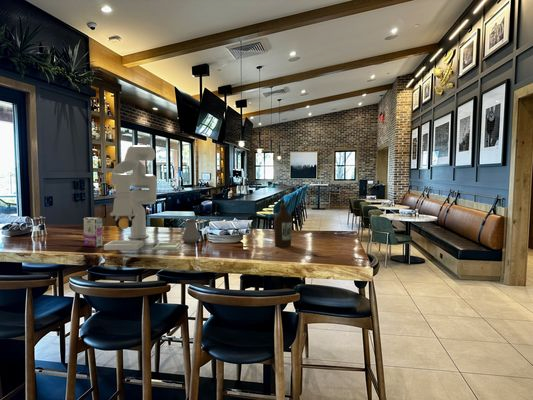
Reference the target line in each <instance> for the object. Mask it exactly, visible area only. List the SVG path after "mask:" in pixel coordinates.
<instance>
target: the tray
mask: <svg viewBox="0 0 533 400" xmlns="http://www.w3.org/2000/svg"><path fill="white" fill-rule="evenodd" d="M181 246H182V244H181V243H180V242H159V243H157V244H156V245H155V246H153V248H152V249H151V250H152V251H161V250H162V251H164V250H165V251H166V250H168V251H169V250H171V251H172V250H173V251H174V250H176V251H177V250H179V248H180V247H181Z"/></svg>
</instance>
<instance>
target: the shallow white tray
mask: <svg viewBox="0 0 533 400" xmlns="http://www.w3.org/2000/svg"><path fill="white" fill-rule="evenodd" d="M144 245H145V241H144V240H138V239H134V240H133V239H131V240H111V241H109V242H107V243H105V244H103V249H104V251H138V250H139V249H141V248H143V247H144Z"/></svg>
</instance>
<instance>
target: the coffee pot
mask: <svg viewBox="0 0 533 400" xmlns="http://www.w3.org/2000/svg"><path fill="white" fill-rule="evenodd" d="M198 218H199V214H198V215H196V216H195V218H194V220H186V221H185V223H186V226H185V228H184V231H183V233H182V236H181V239H182V240H183V242H184V243H186V244H187V243H189V244H191V243H192V244H194V243H197V241H200V239H201V234H200V232H199V230H198V227H197V225H196V224H197V219H198Z"/></svg>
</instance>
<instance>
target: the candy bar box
mask: <svg viewBox="0 0 533 400" xmlns="http://www.w3.org/2000/svg"><path fill="white" fill-rule="evenodd" d="M103 229H104V226H103V218H101V217H92V216H91V217H84V218H83V242H84V243H83V244H84V245H83V246H86V247H94V248H99V247H104V230H103Z"/></svg>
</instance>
